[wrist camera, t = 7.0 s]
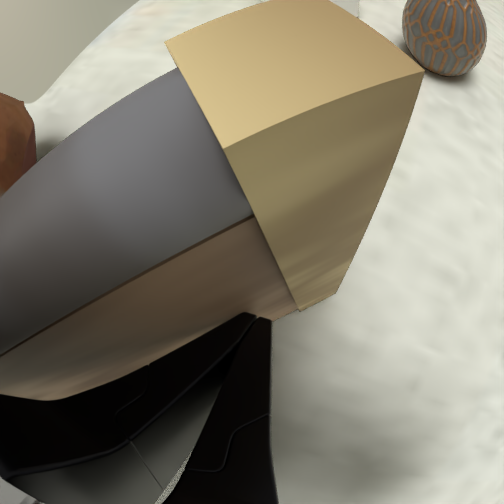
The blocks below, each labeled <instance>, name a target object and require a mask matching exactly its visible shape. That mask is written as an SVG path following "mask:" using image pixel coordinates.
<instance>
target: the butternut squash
mask: <svg viewBox="0 0 504 504" xmlns="http://www.w3.org/2000/svg"><path fill="white" fill-rule="evenodd" d="M36 163H37V161H36V141H35V128H34V122H33V120H32V118H31V116H30V115H29V113H28V112H27V110H26V108H25V106H24V101H19V100H17V99H15V98H13V97H10V96H8V95H5V94H3V93H0V198H1V197H2V196H3V195H4V193H5V192H6V191H7V190H8V189H9V188H10V187H11V186H12V185H13V184H14V183H15V182H17V181H18V180H19V179H20V178H21V177H22V176H23V175H24V174H25V173H26V172H27V171H28V170H29V169H30V168H31V167H33V166H34V165H35V164H36Z"/></svg>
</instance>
